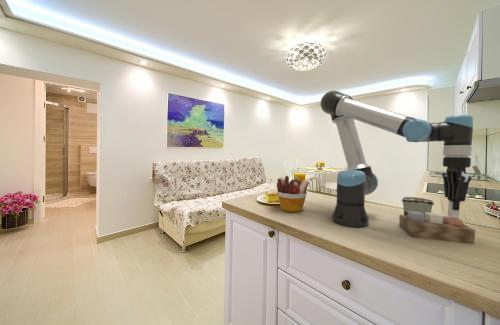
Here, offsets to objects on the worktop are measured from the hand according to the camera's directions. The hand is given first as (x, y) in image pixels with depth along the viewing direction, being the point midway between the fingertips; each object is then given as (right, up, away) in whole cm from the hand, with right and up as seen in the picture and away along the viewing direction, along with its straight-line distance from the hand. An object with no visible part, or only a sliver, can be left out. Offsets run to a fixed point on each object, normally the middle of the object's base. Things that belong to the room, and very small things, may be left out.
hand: (453, 217), depth 80 cm
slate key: (-11, -3, +4) cm, 13 cm away
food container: (+2, -6, +21) cm, 22 cm away
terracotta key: (0, -5, 0) cm, 5 cm away
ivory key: (-6, -4, +2) cm, 7 cm away
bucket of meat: (-56, -5, +35) cm, 66 cm away
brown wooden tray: (-6, -7, +2) cm, 9 cm away
